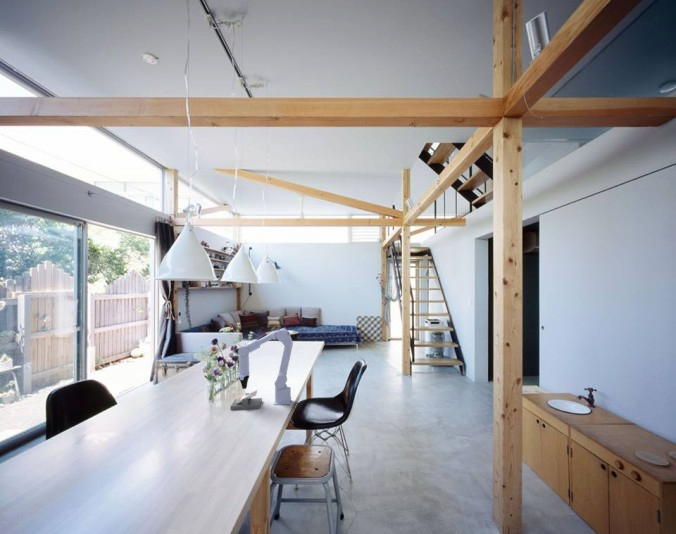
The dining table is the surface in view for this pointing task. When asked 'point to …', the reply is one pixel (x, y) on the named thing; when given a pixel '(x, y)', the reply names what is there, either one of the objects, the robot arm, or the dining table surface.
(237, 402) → the block
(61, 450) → the dining table surface
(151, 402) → the dining table surface
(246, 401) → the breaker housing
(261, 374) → the dining table surface
